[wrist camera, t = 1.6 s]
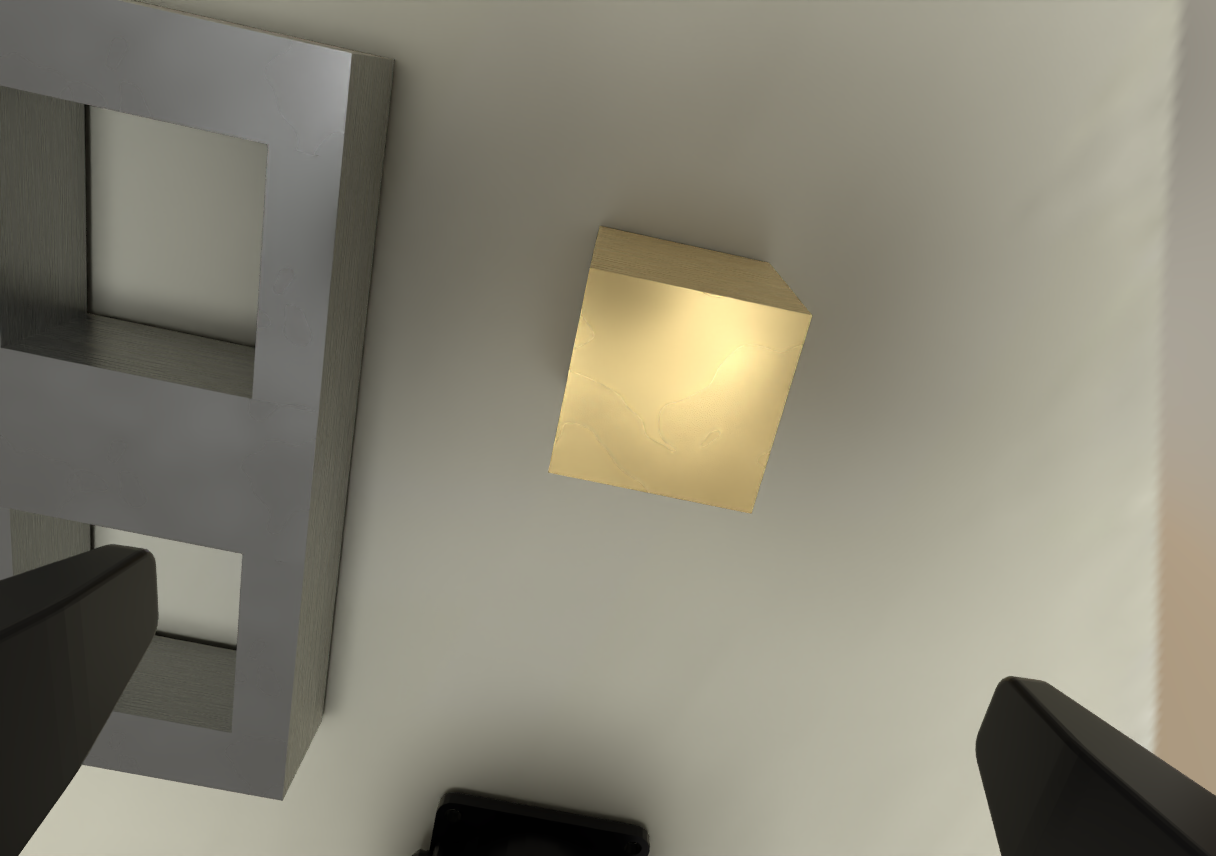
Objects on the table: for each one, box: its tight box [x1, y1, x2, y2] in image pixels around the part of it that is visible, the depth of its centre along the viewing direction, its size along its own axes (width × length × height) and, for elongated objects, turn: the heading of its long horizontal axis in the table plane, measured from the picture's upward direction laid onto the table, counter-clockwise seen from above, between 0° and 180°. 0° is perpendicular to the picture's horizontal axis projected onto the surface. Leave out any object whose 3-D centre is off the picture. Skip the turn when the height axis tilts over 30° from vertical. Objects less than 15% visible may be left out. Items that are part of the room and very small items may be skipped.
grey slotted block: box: [0, 0, 395, 801], centre depth 20 cm, size 8×18×3 cm, turn 168°
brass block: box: [548, 226, 812, 513], centre depth 18 cm, size 4×4×5 cm
